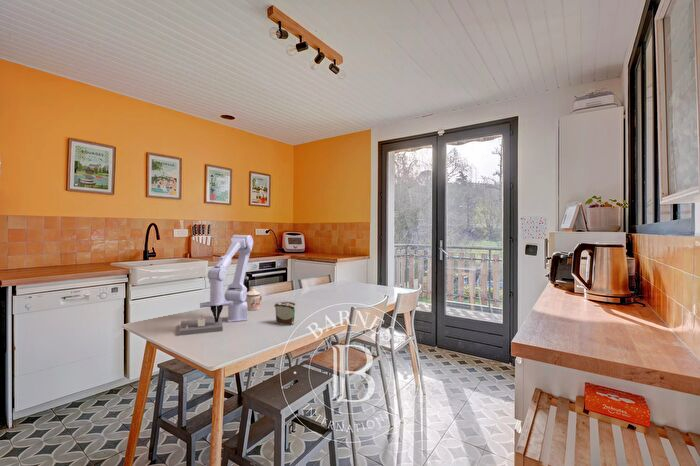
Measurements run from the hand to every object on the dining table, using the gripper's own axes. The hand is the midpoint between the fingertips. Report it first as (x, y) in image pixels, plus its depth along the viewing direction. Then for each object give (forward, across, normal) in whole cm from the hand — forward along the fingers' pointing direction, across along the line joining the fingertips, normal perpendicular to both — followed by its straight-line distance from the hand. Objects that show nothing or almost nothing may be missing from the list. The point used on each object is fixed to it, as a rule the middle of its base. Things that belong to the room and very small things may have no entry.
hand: (216, 321), depth 157 cm
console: (+3, -6, +3) cm, 8 cm away
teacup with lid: (+3, +22, +32) cm, 39 cm away
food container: (+3, +34, -2) cm, 34 cm away
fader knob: (+1, -6, 0) cm, 7 cm away
